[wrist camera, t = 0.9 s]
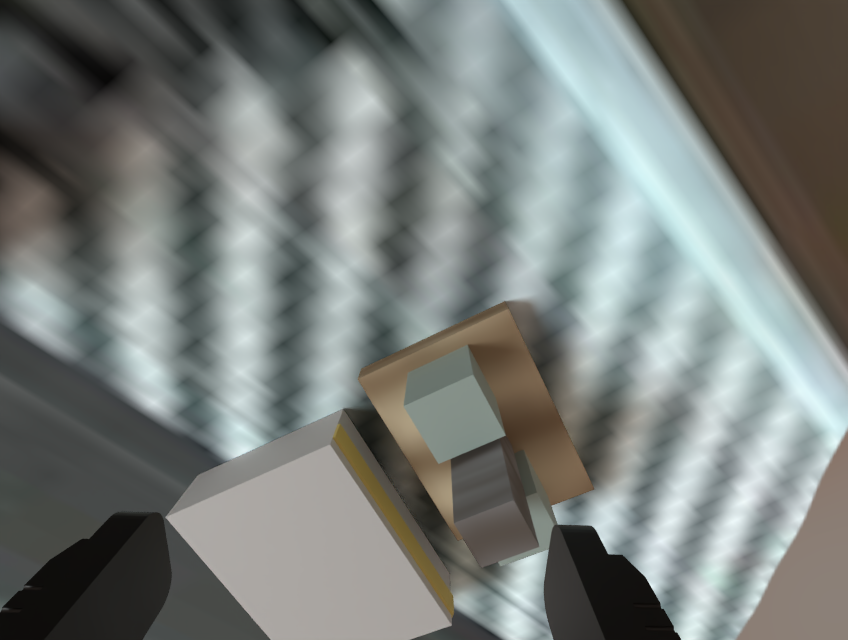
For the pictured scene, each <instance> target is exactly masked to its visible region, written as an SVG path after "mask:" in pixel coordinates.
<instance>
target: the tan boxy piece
mask: <svg viewBox="0 0 848 640" xmlns="http://www.w3.org/2000/svg"><path fill="white" fill-rule="evenodd" d="M466 345H468V346H469V348H470V350H471V352H472V354H473V356H474V358H475V360H476V362H477V363H478V365H479V367H480V369H481V371H482V373H483V375H484V377H485V379H486V380H487V382H488V384H489V386H490V388H491V390H492V392H493V394H494V396H495V397H496V400H497V404H498V408H499V411H500V415H501V419H502V423H503V427H504V430H505V434H506V436H504V437H501V438H499V439H496V440H494V441H492V442H489V443H487V444H485V445H482V446H480V447H478V448H475V449H473V450H471V451H468V452H466V453H463V454H461V455H459V456H456V457H454V458H452V459H449V460H447V461H445V462H442V463H440V464H438V462H437V461H436V459H435V457H434V456H433V454H432V452H431V451H430V449H429V448H428V446H427V444H426V443H425V441H424V439H423V438H422V436H421V434H420V433H419V431H418V429H417V428H416V426H415V424H414V423H413V421H412V419H411V418H410V416H409V415H408V413H407V411H406V410H405V408H404V398H405V391H406V383H407V376H408V372H410V371H413V370H415V369H417V368H419V367H421V366H423V365H425V364H427V363H430V362H432V361H434V360H436V359H438V358H440V357H442V356H444V355H447V354H449V353H451V352H453V351H455V350H457V349H459V348H462V347H464V346H466ZM358 381H359V382H360V384H361V385H362V387H363V389H364V390H365V392H366V393H367V395H368V397H369V398H370V400H371V401H372V403H373V405H374V406H375V408H376V410H377V411H378V413H379V414H380V416H381V418H382V419H383V421H384V422H385V424H386V426H387V427H388V429H389V431H390V432H391V434H392V435H393V437H394V439H395V440H396V442H397V443H398V445H399V447H400V448H401V450H402V452H403V453H404V455H405V456H406V458H407V460H408V461H409V463H410V464H411V466H412V468H413V469H414V471H415V473H416V474H417V476H418V477H419V479H420V481H421V482H422V484H423V485H424V487H425V489H426V490H427V492H428V494H429V495H430V497H431V498H432V500H433V502H434V503H435V505H436V506H437V508H438V510H439V511H440V513H441V515H442V516H443V518H444V519H445V521H446V523H447V524H448V526H449V527H450V529H451V531H452V532H453V534H454V535H455V537H456V539H457V540H458V541H459V540H462V539H464V541H465V543H466V544H467V546H468V547H469V549H470V551H471V552H472V554H473V556H474V557H475V559H476V560H477V562H478V564H479V565H480V567H481V568H483V567H485V566H488V565H491V564H494V563H496V562H499V561H502V560H505V559H507V558H510V557H513V556H516V555H518V554H521V553H524V552H527V551H530V550H532V549H535V548H538V547H539V543H538V540H537V536H536V532H535V529H534V525H533V521H532V518H531V514H530V510H529V506H528V503H527V499H526V495H525V492H524V488H523V484H522V481H521V477H520V473H519V470H518V466H517V462H516V459H515V455H514V453H516V452H519V451H521V450H524V451H525V453H526V455H527V457H528V459H529V461H530V463H531V465H532V466H533V468H534V470H535V472H536V474H537V476H538V478H539V480H540V482H541V484H542V486H543V488H544V489H545V491H546V493H547V495H548V498H549V501H550V504H551V506H552V505H554V504H557V503H560V502H562V501H565V500H568V499H570V498H573V497H575V496H578V495H581V494H583V493H586V492H589V491H591V490H594V487H593V485H592V483H591V481H590V479H589V477H588V475H587V472H586V470H585V468H584V466H583V464H582V462H581V460H580V458H579V456H578V454H577V451H576V449H575V447H574V445H573V443H572V441H571V439H570V437H569V435H568V433H567V430H566V428H565V426H564V424H563V422H562V420H561V418H560V416H559V414H558V412H557V409H556V407H555V405H554V403H553V401H552V399H551V397H550V395H549V393H548V391H547V388H546V386H545V384H544V382H543V380H542V378H541V376H540V374H539V372H538V370H537V367H536V365H535V363H534V361H533V359H532V357H531V355H530V353H529V351H528V349H527V346H526V344H525V342H524V340H523V338H522V336H521V334H520V332H519V330H518V328H517V325H516V323H515V321H514V319H513V317H512V315H511V313H510V311H509V309H508V307H507V305H506V303H505V301H504V302H502V303H500V304H498V305H496V306H494V307H491V308H489V309H487V310H485V311H483V312H481V313H479V314H477V315H474V316H472V317H470V318H468V319H466V320H464V321H462V322H460V323H458V324H455V325H453V326H451V327H449V328H447V329H445V330H443V331H441V332H438V333H436V334H434V335H432V336H430V337H428V338H426V339H424V340H421V341H419V342H417V343H415V344H413V345H411V346H409V347H407V348H405V349H402V350H400V351H398V352H396V353H394V354H392V355H390V356H388V357H385V358H383V359H381V360H379V361H377V362H375V363H373V364H371V365H368V366H366V367H364V368H362V369H361V371H360V374H359V377H358Z"/></svg>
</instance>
